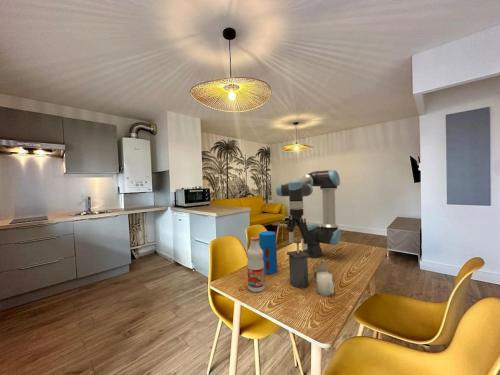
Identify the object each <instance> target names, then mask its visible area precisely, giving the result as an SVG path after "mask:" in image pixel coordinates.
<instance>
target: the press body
mask: <svg viewBox="0 0 500 375" xmlns="http://www.w3.org/2000/svg"><path fill="white" fill-rule="evenodd" d="M286 255H288V265H289V284H290V286H292V287H294V288H298V289H304V288H307V287H309V285H310V284H309V283H310V282H309V263H308V262H309V259H308V258H309V257H310V255H309V254H307V253H305V252H303V250H302V249H299V254H298V255H297V250H293V251H287V253H286Z"/></svg>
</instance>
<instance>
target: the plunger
mask: <svg viewBox="0 0 500 375" xmlns="http://www.w3.org/2000/svg"><path fill="white" fill-rule="evenodd" d="M293 244H296V251H297V255H298V254H299V250H300V244H302V237H300V236H294V243H293Z"/></svg>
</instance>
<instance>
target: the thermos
mask: <svg viewBox="0 0 500 375" xmlns="http://www.w3.org/2000/svg"><path fill="white" fill-rule="evenodd" d="M258 237H259V241H258V242H259V245H260V248H261V249H262V250H263V261H264V273H265V275H267V276H269V275H270V276H272V275H274V274H276V273H277V272H278V260H277V259H278V258H277V257H278V256H277V254H278V253H277V234H276V232H275V231H272V230H271V231H269V230H265V231H260V232H259V233H258Z"/></svg>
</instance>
